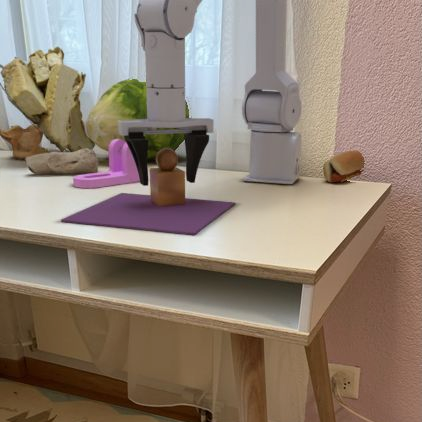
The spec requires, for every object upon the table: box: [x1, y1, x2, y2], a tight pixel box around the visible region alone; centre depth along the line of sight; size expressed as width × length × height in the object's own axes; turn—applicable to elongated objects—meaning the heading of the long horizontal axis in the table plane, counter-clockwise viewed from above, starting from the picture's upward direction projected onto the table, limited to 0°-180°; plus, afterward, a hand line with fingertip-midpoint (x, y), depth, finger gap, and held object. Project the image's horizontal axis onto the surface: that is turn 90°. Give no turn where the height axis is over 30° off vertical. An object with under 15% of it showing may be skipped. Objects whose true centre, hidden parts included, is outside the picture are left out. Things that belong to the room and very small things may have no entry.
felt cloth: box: [60, 192, 236, 236], centre depth 91 cm, size 20×20×1 cm
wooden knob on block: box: [149, 148, 186, 206], centre depth 94 cm, size 4×4×8 cm
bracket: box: [72, 139, 140, 189], centre depth 110 cm, size 13×6×7 cm, turn 134°
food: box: [322, 149, 365, 183], centre depth 118 cm, size 14×6×5 cm
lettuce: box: [85, 78, 189, 162], centre depth 131 cm, size 17×23×17 cm
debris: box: [0, 46, 96, 153], centre depth 129 cm, size 26×30×14 cm
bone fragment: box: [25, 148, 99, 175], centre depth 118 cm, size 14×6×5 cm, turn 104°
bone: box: [0, 123, 49, 161], centre depth 134 cm, size 12×10×8 cm
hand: (167, 183), depth 95 cm, fingers open, 7 cm apart
